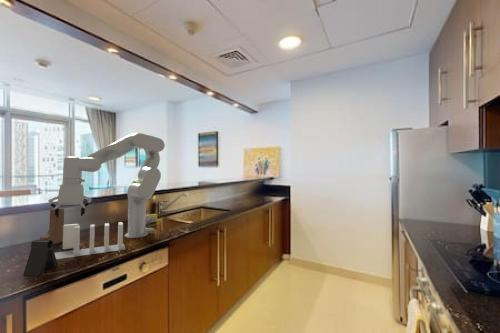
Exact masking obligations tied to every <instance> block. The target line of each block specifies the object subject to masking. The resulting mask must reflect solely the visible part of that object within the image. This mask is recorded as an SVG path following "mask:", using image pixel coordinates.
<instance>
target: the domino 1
mask: <svg viewBox="0 0 500 333" xmlns="http://www.w3.org/2000/svg"><path fill="white" fill-rule="evenodd" d="M75 226H80V224H79V223H72V224H64V225H63V242H62V250H69V249H74V228H75Z"/></svg>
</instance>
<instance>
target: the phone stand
mask: <svg viewBox="0 0 500 333" xmlns="http://www.w3.org/2000/svg"><path fill="white" fill-rule="evenodd" d="M53 245H54V244H53V241H52V240H40V239H35V240H32V241H31V243H30V252H29V255H28V258H27V261H26V264H25V268H24V271H23V274H22V276H30V277H42V276H44V275H45V274H46V272H45V268H56V267H58V266H59V265H58V261H57V260H58V259H56V257H55V253H56V252H55V251H54V246H53ZM43 274H44V275H43ZM41 275H42V276H41Z"/></svg>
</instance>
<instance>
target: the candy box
mask: <svg viewBox="0 0 500 333" xmlns="http://www.w3.org/2000/svg"><path fill="white" fill-rule="evenodd" d="M155 226H158V213H151V214H146V220H145V227H146V228H151V227H155Z"/></svg>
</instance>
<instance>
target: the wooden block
mask: <svg viewBox="0 0 500 333" xmlns="http://www.w3.org/2000/svg"><path fill="white" fill-rule="evenodd" d="M63 225H65V208H63V207H62V208H61V207H59V217H56V215H55V209H54V208H50V209H49V226H48V227H49V229H48V231H47V233H46V234H44V235H42V236H40V237H39V240H52V241H53V245H56V244H59V243H63Z"/></svg>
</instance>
